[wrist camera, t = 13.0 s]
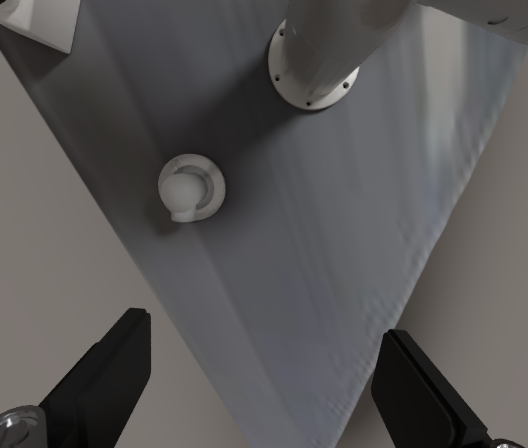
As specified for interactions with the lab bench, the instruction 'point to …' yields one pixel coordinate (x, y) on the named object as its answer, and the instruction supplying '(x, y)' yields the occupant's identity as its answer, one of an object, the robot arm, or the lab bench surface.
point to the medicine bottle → (42, 20)
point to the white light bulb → (184, 195)
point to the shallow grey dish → (207, 171)
